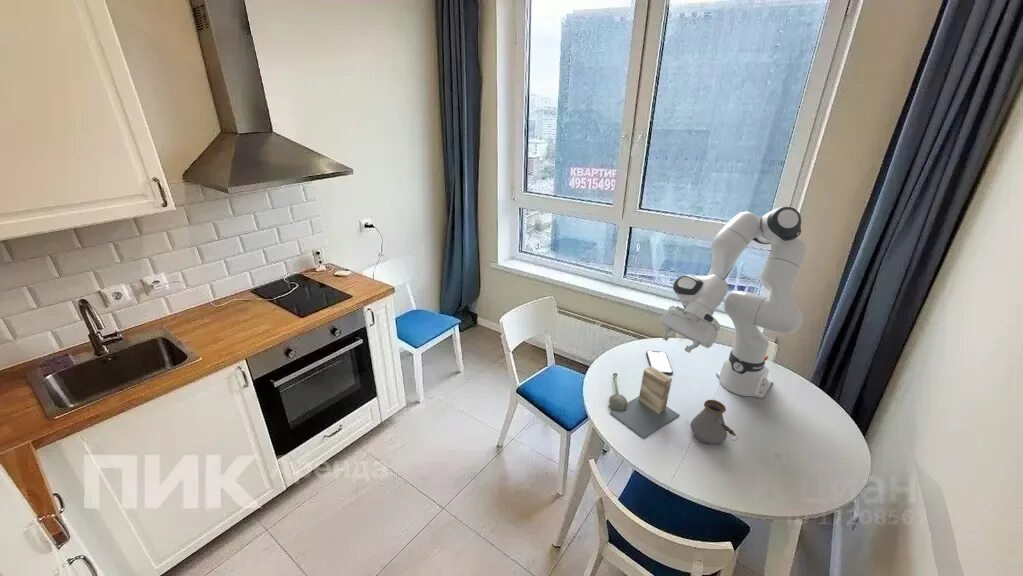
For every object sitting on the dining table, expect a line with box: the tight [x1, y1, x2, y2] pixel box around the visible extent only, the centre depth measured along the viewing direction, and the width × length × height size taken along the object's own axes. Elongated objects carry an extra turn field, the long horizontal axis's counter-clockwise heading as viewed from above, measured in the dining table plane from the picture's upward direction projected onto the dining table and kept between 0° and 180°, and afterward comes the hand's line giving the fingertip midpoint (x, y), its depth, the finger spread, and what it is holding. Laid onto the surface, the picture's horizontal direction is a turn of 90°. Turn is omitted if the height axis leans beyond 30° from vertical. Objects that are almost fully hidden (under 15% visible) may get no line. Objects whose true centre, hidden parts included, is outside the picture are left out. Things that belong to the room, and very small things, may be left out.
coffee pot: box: [689, 399, 739, 445], centre depth 132 cm, size 21×12×15 cm, turn 174°
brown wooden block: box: [638, 365, 673, 414], centre depth 150 cm, size 4×9×14 cm, turn 35°
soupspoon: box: [608, 372, 628, 411], centre depth 159 cm, size 22×3×7 cm
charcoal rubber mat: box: [609, 395, 680, 440], centre depth 148 cm, size 20×15×1 cm
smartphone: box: [645, 350, 674, 376], centre depth 178 cm, size 9×2×16 cm
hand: (675, 345), depth 148 cm, fingers open, 8 cm apart
